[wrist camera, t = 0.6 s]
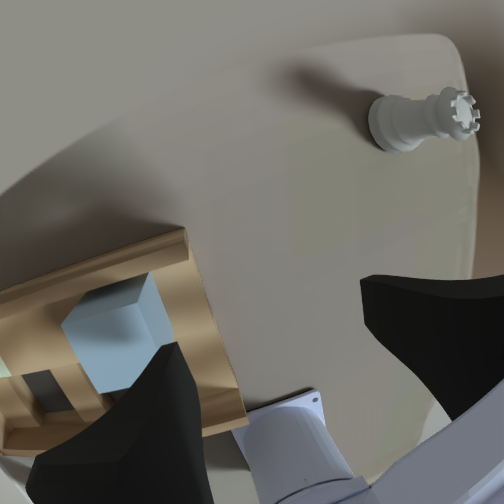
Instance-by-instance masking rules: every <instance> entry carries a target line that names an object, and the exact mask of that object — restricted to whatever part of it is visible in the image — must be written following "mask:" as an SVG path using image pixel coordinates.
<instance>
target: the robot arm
mask: <svg viewBox="0 0 504 504" xmlns="http://www.w3.org/2000/svg"><path fill="white" fill-rule="evenodd" d="M360 286H361V294H362V303H363V313H364V323H365V325H366V327H367V328H368V329H369V330H370V332H371V333H372V334H373V335H374V337H375V338H376V339H377V340H378V341H379V342H380V343H381V344H382V345H383V346H384V347H385V348H387V349H388V350H389V351H390V352H391V353H392V354H393V355H394V356H396V357H397V358H398V359H399V360H400V361H401V362H402V363H403V364H405V365H406V366H407V367H408V368H409V369H410V370H411V371H412V372H413V373H414V374H415V375H416V376H417V377H418V378H419V379H420V380H421V381H422V382H423V383H424V385H425V386H426V387H427V388H428V389H429V391H430V392H431V393H432V394H433V396H434V397H435V398H436V399H437V401H438V402H439V403H440V404H441V406H442V407H443V409H444V410H445V412H446V413H447V415H448V416H449V417H450V419H451V420H452V422H451V423H450V424H449V425H447V426H446V427H444V428H443V429H442V430H440V431H439V432H437V433H436V434H434V435H433V436H431V437H430V438H429V439H427V440H425V441H424V442H422V443H421V444H419V445H418V446H417V447H416V448H414V449H413V450H412V451H410V452H409V453H408V454H406V455H405V456H403V457H402V458H401V459H399V460H398V461H396V462H395V463H394V464H393V465H392V466H391V467H390V468H389V469H388V470H387V471H386V472H385V473H384V474H383V475H382V476H381V477H380V478H378V479H377V480H376V481H375V482H374V483H372V484H370V485H368V484H367V482H366V481H365V479H364V478H363V476H359V477H357V478H355V476H354V474H353V473H352V471H351V469H350V468H349V466H348V465H347V463H346V461H345V460H344V458H343V456H342V455H341V453H340V451H339V450H338V448H337V446H336V445H335V443H334V441H333V440H332V438H331V436H330V435H329V433H328V431H327V430H326V426H325V420H324V414H323V409H322V403H321V397H320V393H319V391H318V390H317V389H313V390H310V391H308V392H305V393H303V394H300V395H297V396H295V397H292V398H289V399H286V400H284V401H281V402H278V403H275V404H272V405H269V406H266V407H263V408H260V409H257V410H254V411H251V412H247V417H248V420H249V423H250V424H249V425H246V426H242V427H239V428H235V429H232V430H231V432H232V434H233V436H234V438H235V440H236V442H237V444H238V446H239V448H240V450H241V452H242V453H243V455H244V457H245V459H246V461H247V463H248V465H249V467H250V471H251V474H252V478H253V481H254V484H255V488H256V491H257V495H258V498H259V501H260V504H504V275H499V276H494V277H488V278H481V279H471V280H431V279H419V278H409V277H400V276H391V275H371V276H368V277H366V278H363V279H361V280H360ZM314 398H315V399H314ZM313 399H314V400H313ZM25 488H26V492H27V494H28V496H29V497H30V499H31V500H32V502H33V503H34V504H214V501H213V497H212V493H211V489H210V485H209V481H208V476H207V472H206V467H205V462H204V454H203V441H202V424H201V407H200V401H199V395H198V390H197V385H196V382H195V380H194V378H193V376H192V374H191V371H190V369H189V367H188V365H187V363H186V360H185V358H184V356H183V354H182V351H181V349H180V347H179V344H178V342H177V341H176V342H172V343H169V344H165V345H162V346H161V347H160V348H159V349H158V350H157V352H156V353H155V355H154V356H153V357H152V359H151V360H150V362H149V363H148V365H147V366H146V367H145V369H144V370H143V371H142V373H141V374H140V376H139V377H138V378H137V379H136V381H135V382H134V383H133V384H132V386H131V387H130V388H129V389H128V390H127V392H126V393H125V394H124V395H123V396H122V397H121V398H120V399H119V400H118V401H117V402H116V403H115V404H114V405H113V406H112V407H111V408H110V409H109V410H108V411H107V412H106V413H105V414H103V415H102V416H101V417H100V418H99V419H97V420H96V421H95V422H94V423H92V424H91V425H90V426H89V427H87V428H86V429H84V430H83V431H81V432H80V433H78V434H77V435H75V436H74V437H72V438H70V439H69V440H67V441H65V442H63V443H62V444H60V445H58V446H56V447H54V448H51V449H49V450H47V451H45V452H43V453H41V454H38V455H36V458H35V460H34V463H33V466H32V469H31V472H30V475H29V478H28V481H27V484H26V487H25Z"/></svg>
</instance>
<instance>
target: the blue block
mask: <svg viewBox="0 0 504 504" xmlns="http://www.w3.org/2000/svg"><path fill="white" fill-rule="evenodd" d="M61 327H62V329H63V331H64V333H65V335H66V337H67V339H68V341H69V343H70V345H71V347H72V349H73V350H74V352H75V354H76V356H77V358H78V360H79V361H80V363H81V365H82V367H83V368H84V370H85V372H86V374H87V375H88V377H89V379H90V380H91V382H92V384H93V385H94V387H95V389H96V390H97V392H98V393H99V394H101V393H106V392H111V391H116V390H121V389H125V388H130V387H131V386H132V384H133V383H134V382H135V381H136V379H137V378H138V377H139V376H140V374H141V373H142V371H143V370H144V369H145V367H146V366H147V365H148V363H149V362H150V360H151V359H152V357H153V356H154V355H155V353H156V352H157V350H158V349H159V348H160V347H161V346H162V345H165V344H169V343H172V342H173V328H172V325H171V323H170V320H169V318H168V315H167V313H166V310H165V308H164V305H163V302H162V300H161V297H160V295H159V292H158V289H157V287H156V284H155V281H154V278H153V276H152V273H151V271H150V272H147V273H144V274H141V275H138V276H134V277H131V278H128V279H125V280H122V281H118V282H115V283H112V284H109V285H106V286H103V287H99V288H96V289H93V290H90V291H87V292H86V293H85V295H84V296H83V297H82V298H81V300H80V301H79V302H78V303H77V305H76V306H75V307H74V308H73V310H72V311H71V312H70V313H69V315H68V316H67V317H66V319H65V320H64V321H63V322H62V324H61Z"/></svg>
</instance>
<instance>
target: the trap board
mask: <svg viewBox="0 0 504 504" xmlns="http://www.w3.org/2000/svg"><path fill="white" fill-rule="evenodd" d="M150 271H151V273H152V276H153V278H154V281H155V284H156V287H157V289H158V292H159V295H160V297H161V300H162V302H163V305H164V308H165V310H166V313H167V315H168V318H169V320H170V323H171V325H172V328H173V342H176V341H177V342H178V344H179V347H180V349H181V351H182V354H183V356H184V358H185V360H186V363H187V365H188V367H189V369H190V371H191V374H192V376H193V378H194V380H195V382H196V385H197V390H198V395H199V401H200V407H201V424H202V437H205V436H209V435H213V434H217V433H221V432H225V431H228V430H232V429H235V428H239V427H242V426H246V425H249V424H250V423H249V420H248V417H247V413H246V410H245V407H244V403H243V400H242V397H241V393H240V390H239V386H238V383H237V379H236V377H235V374H234V371H233V369H232V366H231V363H230V361H229V358H228V355H227V353H226V350H225V347H224V344H223V342H222V339H221V336H220V333H219V330H218V328H217V325H216V322H215V319H214V316H213V313H212V310H211V307H210V305H209V302H208V299H207V296H206V293H205V290H204V287H203V284H202V281H201V278H200V274H199V271H198V268H197V265H196V262H195V259H194V256H193V253H192V249H191V246H190V243H189V240H188V236H187V233H186V230H185V227H184V228H181V229H178V230H174V231H171V232H168V233H165V234H162V235H158V236H155V237H152V238H149V239H146V240H143V241H140V242H137V243H134V244H131V245H128V246H125V247H122V248H119V249H116V250H113V251H110V252H107V253H104V254H101V255H98V256H95V257H92V258H89V259H86V260H83V261H81V262H78V263H75V264H72V265H69V266H67V267H64V268H61V269H58V270H55V271H53V272H50V273H47V274H45V275H42V276H39V277H36V278H34V279H31V280H29V281H26V282H23V283H21V284H18V285H15V286H13V287H10V288H8V289H5V290H3V291H0V452H1V453H2V455H5V456H25V457H36V455H38V454H41V453H43V452H45V451H47V450H49V449H51V448H54V447H56V446H58V445H60V444H62V443H63V442H65V441H67V440H69V439H70V438H72V437H74V436H75V435H77V434H78V433H80V432H81V431H83V430H84V429H86V428H87V427H89V426H90V425H91V424H92V423H94V422H95V421H96V420H97V419H99V418H100V417H101V416H102V415H103V414H105V413H106V412H107V411H108V410H109V409H110V408H111V407H112V406H113V405H114V404H115V403H116V402H117V401H118V400H119V399H120V398H121V397H122V396H123V395H124V394H125V393H126V392H127V390H128V389H129V388H125V389H121V390H116V391H111V392H106V393H101V394H99V393H98V392H97V390H96V389H95V387H94V385H93V384H92V382H91V380H90V379H89V377H88V375H87V374H86V372H85V370H84V368H83V367H82V365H81V363H80V361H79V360H78V358H77V356H76V354H75V352H74V350H73V349H72V347H71V345H70V343H69V341H68V339H67V337H66V335H65V333H64V331H63V329H62V327H61V324H62V322H63V321H64V320H65V319H66V317H67V316H68V315H69V313H70V312H71V311H72V310H73V308H74V307H75V306H76V305H77V303H78V302H79V301H80V300H81V298H82V297H83V296H84V295H85V293H86V292H87V291H90V290H93V289H96V288H99V287H103V286H106V285H109V284H112V283H115V282H118V281H122V280H125V279H128V278H131V277H134V276H138V275H141V274H144V273H147V272H150Z"/></svg>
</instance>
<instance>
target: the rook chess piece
mask: <svg viewBox="0 0 504 504" xmlns="http://www.w3.org/2000/svg"><path fill="white" fill-rule="evenodd" d="M474 103H475V100H474V99H473V97H472V96H467V94H466V91H458V90H456V89H455V88H452V87H446V88H444V89H443V90H442V91H441V93H440V95H439V96H438V95H433V94H432V95H430V96H428V97H427V99H425V100H413V101H412V100H410V99H409V98H405V97H403V96H399V95H389V96H387V97H386V96H382V97H380V98H378V99H377V100H375V101H374V103H373V104H372V106H371V107H370V110H369V117H368V122H369V128H370V132H371V134H372V135H373V137H374V139H375V141H376V143H377V144H378V145H379V146H380V147H381V148H382V149H383V150H385V151H388V152H390V153H392V154H397V153H403V152H409V151H411V150H412V149H414V148H415V147H417V146H418V145H419V143H421V142H422V141H423V139H426V138H430V137H433V136H437V137H439V138H447V137H448V136H451V137H452V138H454V139H456V140H457V141H465V140H466V139H467V138H468V137H469V136H470V134H474V131H478V129H479V127H480V125H479V124H478V123H477V122H475V118H480V114H479V110H473V108H472V106H471V104H474Z"/></svg>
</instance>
